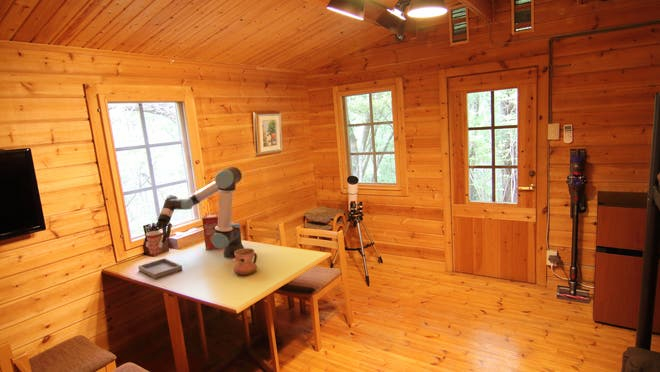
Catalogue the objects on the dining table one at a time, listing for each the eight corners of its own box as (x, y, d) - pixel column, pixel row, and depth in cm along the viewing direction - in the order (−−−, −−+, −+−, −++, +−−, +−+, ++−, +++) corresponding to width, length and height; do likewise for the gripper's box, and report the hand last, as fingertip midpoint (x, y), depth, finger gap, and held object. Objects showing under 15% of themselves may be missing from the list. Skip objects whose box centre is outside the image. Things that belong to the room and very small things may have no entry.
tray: (182, 270, 262) (181, 265, 261) (155, 279, 249) (154, 274, 248) (165, 262, 278) (164, 257, 277) (139, 271, 265) (138, 266, 264)
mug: (152, 256, 254) (150, 236, 251) (145, 253, 259) (143, 233, 257) (170, 250, 263) (169, 231, 260) (164, 247, 269) (162, 228, 266)
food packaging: (205, 250, 300) (201, 218, 295) (206, 246, 309) (203, 215, 304) (223, 248, 302) (220, 216, 298) (224, 244, 311) (221, 213, 307)
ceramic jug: (241, 279, 241) (239, 257, 239) (227, 274, 251) (226, 252, 249) (264, 270, 254) (263, 249, 252) (251, 265, 264) (249, 245, 262)
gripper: (182, 219, 270) (171, 249, 258) (154, 219, 275) (142, 249, 262) (176, 213, 264) (165, 244, 252) (148, 213, 269) (135, 244, 256)
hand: (153, 246), depth 257 cm, fingers closed on mug, 8 cm apart
